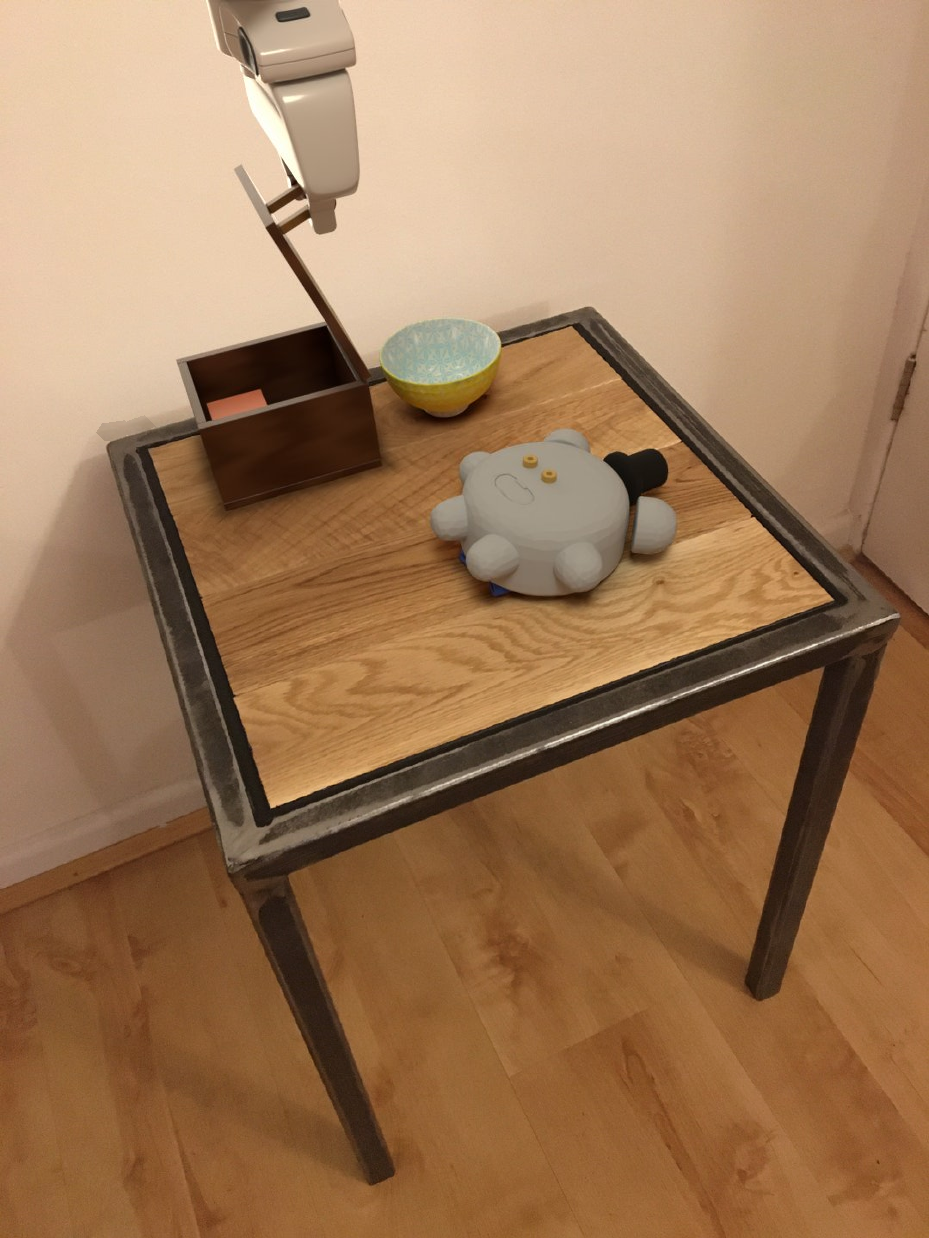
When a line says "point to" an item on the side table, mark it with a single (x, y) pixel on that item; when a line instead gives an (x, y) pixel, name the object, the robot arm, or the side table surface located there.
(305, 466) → the chest
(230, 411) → the block
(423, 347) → the bowl
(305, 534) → the side table surface
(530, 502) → the figurine
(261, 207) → the lid
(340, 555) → the side table surface
